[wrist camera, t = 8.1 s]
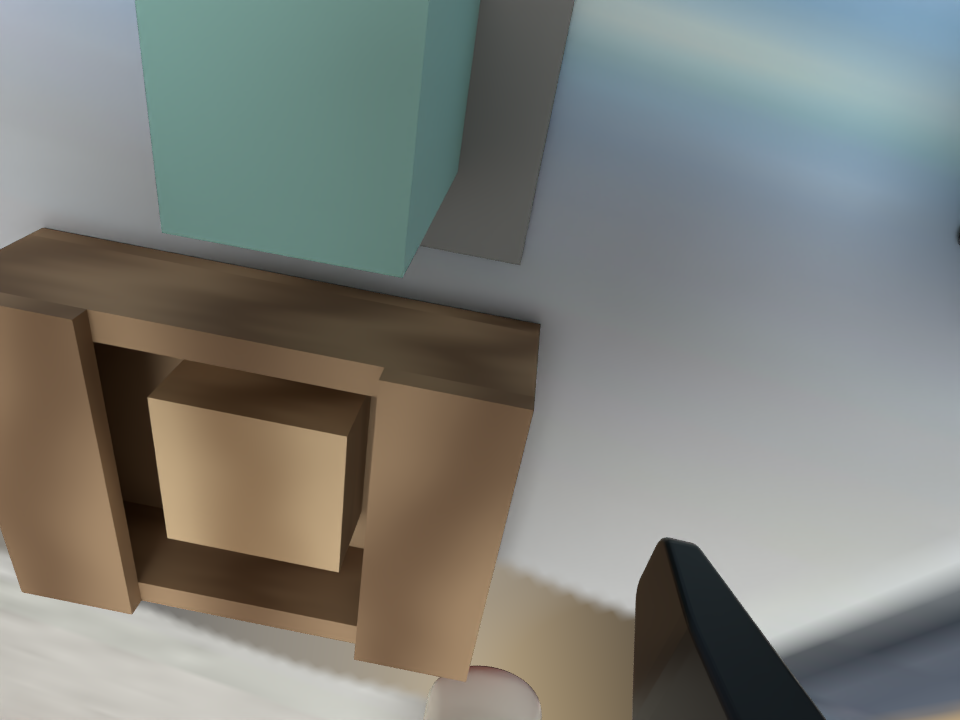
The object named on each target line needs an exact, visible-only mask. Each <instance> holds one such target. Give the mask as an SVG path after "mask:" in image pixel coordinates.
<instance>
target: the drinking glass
mask: <svg viewBox="0 0 960 720" xmlns="http://www.w3.org/2000/svg"><path fill="white" fill-rule="evenodd" d="M541 715H542V714H541V705H540V702H539V699H538V697H537V695H536V693H535V692H534V690H533V689H532V688H531V687H530V686H529V684H527V683H526V682H525V681H524V680H522V679H521V678H519V677H518V676H516V675H514V674H512V673H510V672H507V671H505V670H502V669H498V668H494V667H488V666H470V667H469V671H468V675H467V679H466V682H463V681H458V680H453V679H448V678H443V677H440V678H439V679H438V680H437V681H436V682H435V683H434V684H433V686H432V688H431V690H430V692H429V695H428V698H427V703H426V708H425V713H424V718H423V720H542V716H541Z"/></svg>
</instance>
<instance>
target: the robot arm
mask: <svg viewBox="0 0 960 720" xmlns="http://www.w3.org/2000/svg"><path fill="white" fill-rule="evenodd" d="M959 245H960V235H959ZM633 720H826V719H825V717H824V716H823V714H822V713H821V712H820V710H819V709H818V708H817V706H816V705H815V704H814V702H813V701H812V700H811V698H810V697H809V696H808V694H807V693H806V691H805V690H804V689H803V687H802V686H801V685H800V683H799V682H798V681H797V679H796V678H795V677H794V675H793V674H792V672H791V671H790V670H789V668H788V667H787V666H786V664H785V663H784V662H783V660H782V659H781V658H780V656H779V655H778V653H777V652H776V651H775V649H774V648H773V647H772V645H771V644H770V643H769V641H768V640H767V639H766V637H765V636H764V635H763V633H762V632H761V630H760V629H759V628H758V626H757V625H756V624H755V622H754V621H753V620H752V618H751V617H750V616H749V614H748V613H747V611H746V610H745V609H744V607H743V606H742V605H741V603H740V602H739V601H738V599H737V598H736V597H735V595H734V594H733V592H732V591H731V590H730V588H729V587H728V586H727V584H726V583H725V582H724V580H723V579H722V578H721V576H720V575H719V574H718V572H717V571H716V569H715V568H714V567H713V565H712V564H711V563H710V561H709V560H708V559H707V557H706V556H705V555H704V553H703V552H702V550H701V549H700V548H699V547H698V546H697V545H695V544H693V543H690V542H686V541H682V540H677V539H673V538H668V537H667V538H662V539H661V540H660V541H659V542H658V544H657V545H656V547H655V549H654V551H653V553H652V556H651V558H650V560H649V562H648V564H647V566H646V568H645V570H644V572H643V574H642V576H641V578H640V580H639V584H638V587H637V593H636V608H635V642H634V674H633Z"/></svg>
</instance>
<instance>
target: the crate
mask: <svg viewBox="0 0 960 720" xmlns="http://www.w3.org/2000/svg"><path fill="white" fill-rule="evenodd" d="M539 336H540V324H536V323H531V322H525V321H520V320H515V319H510V318H505V317H500V316H495V315H489V314H484V313H479V312H474V311H469V310H464V309H458V308H453V307H448V306H443V305H438V304H433V303H428V302H422V301H417V300H412V299H407V298H402V297H397V296H391V295H386V294H381V293H376V292H371V291H366V290H361V289H355V288H350V287H345V286H340V285H335V284H330V283H325V282H319V281H314V280H309V279H304V278H299V277H294V276H288V275H283V274H278V273H273V272H268V271H263V270H258V269H252V268H247V267H242V266H237V265H232V264H227V263H222V262H216V261H211V260H206V259H201V258H196V257H191V256H185V255H180V254H175V253H170V252H165V251H160V250H155V249H149V248H144V247H139V246H134V245H129V244H124V243H119V242H113V241H108V240H103V239H98V238H93V237H88V236H82V235H77V234H72V233H67V232H62V231H57V230H52V229H46V228H41V229H39V230H37V231H35V232H33V233H31V234H29V235H27V236H26V237H24V238H22V239H20V240H18V241H16V242H14V243H12V244H10V245H8V246H6V247H4V248H2V249H0V528H1V531H2V534H3V537H4V540H5V543H6V546H7V549H8V552H9V555H10V558H11V561H12V564H13V567H14V570H15V573H16V576H17V579H18V582H19V585H20V588H21V591H22V592H24V593H29V594H34V595H39V596H44V597H49V598H54V599H59V600H64V601H68V602H73V603H78V604H83V605H88V606H93V607H98V608H103V609H108V610H113V611H118V612H123V613H128V614H133V612H134V611H135V609H136V608H137V606H138V605H139V603H140V602H141V600H142V601H147V602H152V603H157V604H162V605H167V606H172V607H177V608H182V609H187V610H192V611H197V612H202V613H207V614H212V615H217V616H221V617H226V618H232V619H236V620H241V621H246V622H252V623H256V624H261V625H266V626H271V627H276V628H281V629H286V630H291V631H295V632H300V633H305V634H310V635H316V636H320V637H325V638H330V639H335V640H340V641H345V642H350V643H355V654H354V659H355V660H359V661H364V662H369V663H375V664H379V665H384V666H389V667H394V668H399V669H404V670H409V671H414V672H419V673H424V674H428V675H433V676H438V677H443V678H448V679H453V680H458V681H463V682H466V679H467V675H468V671H469V667H470V663H471V659H472V655H473V651H474V647H475V643H476V639H477V635H478V631H479V627H480V623H481V619H482V615H483V611H484V607H485V603H486V599H487V595H488V591H489V587H490V583H491V579H492V575H493V571H494V567H495V563H496V559H497V555H498V551H499V547H500V543H501V539H502V535H503V531H504V527H505V523H506V519H507V515H508V511H509V507H510V503H511V499H512V495H513V491H514V487H515V483H516V479H517V475H518V471H519V467H520V463H521V459H522V455H523V451H524V447H525V443H526V439H527V435H528V431H529V427H530V423H531V419H532V415H533V411H534V401H535V388H536V375H537V362H538V349H539Z"/></svg>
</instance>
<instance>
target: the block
mask: <svg viewBox="0 0 960 720" xmlns="http://www.w3.org/2000/svg"><path fill="white" fill-rule="evenodd" d="M135 6H136V14H137V23H138V31H139V40H140V49H141V57H142V66H143V74H144V83H145V92H146V100H147V109H148V117H149V126H150V135H151V143H152V152H153V161H154V169H155V178H156V186H157V195H158V204H159V212H160V221H161V229H162V233H166V234H172V235H177V236H182V237H187V238H193V239H198V240H203V241H209V242H214V243H219V244H225V245H230V246H235V247H241V248H246V249H251V250H257V251H262V252H267V253H272V254H278V255H283V256H288V257H294V258H299V259H304V260H310V261H315V262H320V263H326V264H331V265H336V266H341V267H347V268H352V269H357V270H363V271H368V272H373V273H379V274H384V275H389V276H395V277H400V278H403V276H404V274H405V272H406V270H407V268H408V267H409V265H410V263H411V261H412V259H413V257H414V255H415V253H416V251H417V249H418V247H419V245H420V243H421V242H422V240H423V238H424V236H425V234H426V232H427V230H428V228H429V226H430V224H431V222H432V220H433V218H434V217H435V215H436V213H437V211H438V209H439V207H440V205H441V203H442V201H443V199H444V197H445V195H446V193H447V192H448V190H449V188H450V186H451V184H452V182H453V180H454V178H455V176H456V174H457V172H458V166H459V158H460V150H461V143H462V135H463V128H464V120H465V113H466V105H467V98H468V90H469V83H470V75H471V67H472V60H473V52H474V45H475V37H476V30H477V22H478V15H479V7H480V0H135Z"/></svg>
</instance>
